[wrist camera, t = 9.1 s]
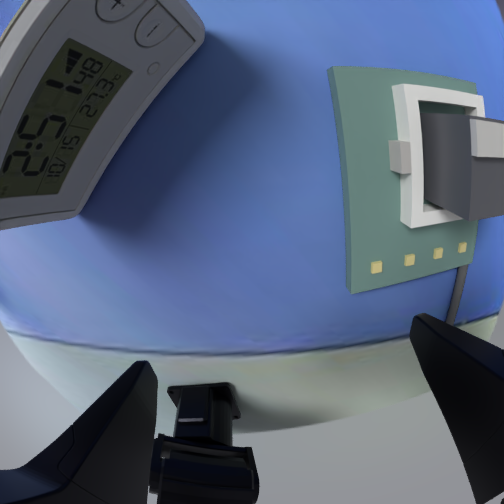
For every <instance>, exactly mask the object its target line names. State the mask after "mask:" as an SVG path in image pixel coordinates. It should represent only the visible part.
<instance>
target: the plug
mask: <svg viewBox="0 0 504 504" xmlns="http://www.w3.org/2000/svg"><path fill="white" fill-rule="evenodd" d="M420 122H421V133H422V147H423V174H424V196H423V198H424V199H426V200H428V201H430V202H432V203H434V204H436V205H438V206H440V207H442V208H444V209H446V210H448V211H450V212H452V213H454V214H456V215H457V216H459V217H461V218H463V219H465V220H467V221H468V222H469V221H475V220H480V219H485V218H490V217H496V216H501V215H504V121H501V120H496V119H490V118H484V117H478V116H472V115H460V114H441V113H420Z"/></svg>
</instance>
